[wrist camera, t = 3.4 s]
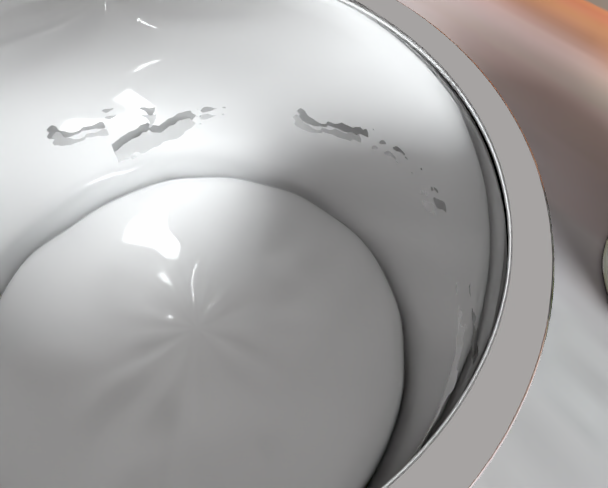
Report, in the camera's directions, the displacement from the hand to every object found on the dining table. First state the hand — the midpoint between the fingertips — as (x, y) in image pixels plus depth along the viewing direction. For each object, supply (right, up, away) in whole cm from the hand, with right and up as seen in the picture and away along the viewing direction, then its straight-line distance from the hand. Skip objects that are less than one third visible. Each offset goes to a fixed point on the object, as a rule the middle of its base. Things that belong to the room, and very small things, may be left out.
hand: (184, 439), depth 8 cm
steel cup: (-1, -4, +9) cm, 9 cm away
